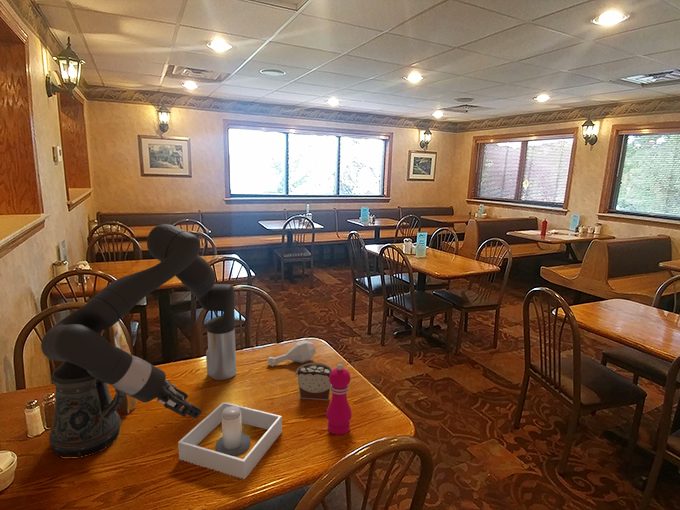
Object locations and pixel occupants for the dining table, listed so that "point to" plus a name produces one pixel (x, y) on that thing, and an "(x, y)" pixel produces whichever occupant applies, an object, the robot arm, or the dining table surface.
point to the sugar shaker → (231, 427)
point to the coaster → (236, 451)
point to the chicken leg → (296, 353)
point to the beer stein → (83, 412)
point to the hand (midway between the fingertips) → (191, 406)
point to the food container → (314, 381)
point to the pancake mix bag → (120, 341)
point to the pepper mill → (339, 402)
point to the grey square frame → (224, 461)
